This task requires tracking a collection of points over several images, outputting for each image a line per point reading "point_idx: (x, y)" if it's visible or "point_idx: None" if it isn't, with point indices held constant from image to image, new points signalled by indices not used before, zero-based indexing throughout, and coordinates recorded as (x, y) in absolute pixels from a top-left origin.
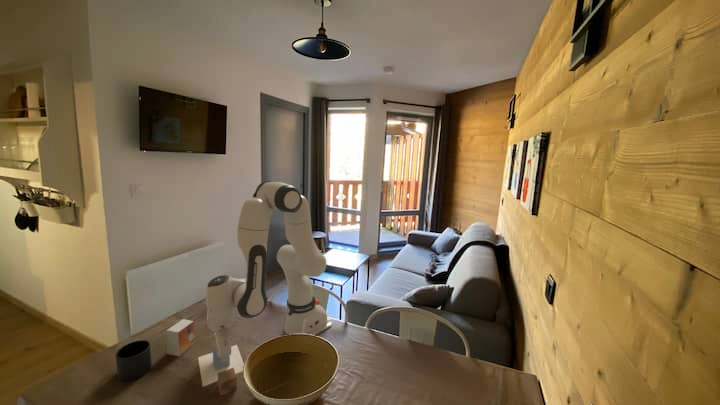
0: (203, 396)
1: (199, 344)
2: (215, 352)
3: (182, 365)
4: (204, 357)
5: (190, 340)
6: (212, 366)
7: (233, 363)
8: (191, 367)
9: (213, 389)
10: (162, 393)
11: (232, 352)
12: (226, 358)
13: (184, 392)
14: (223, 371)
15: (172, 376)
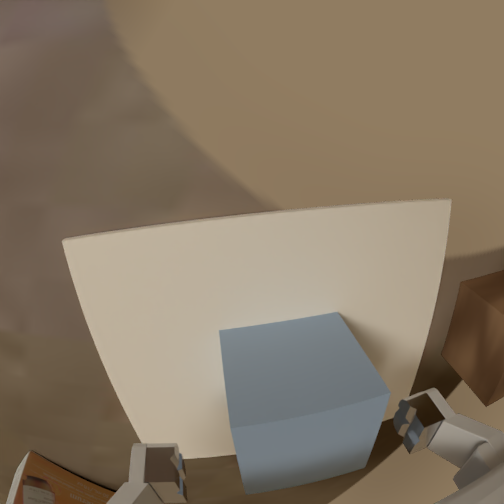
0: (444, 394)
1: (33, 438)
2: (292, 479)
3: (188, 488)
4: (163, 441)
5: (47, 497)
6: None
7: (334, 285)
8: (222, 470)
9: (443, 368)
10: (324, 495)
11: (172, 288)
12: (441, 402)
13: (372, 454)
14: (499, 382)
15: (248, 499)
